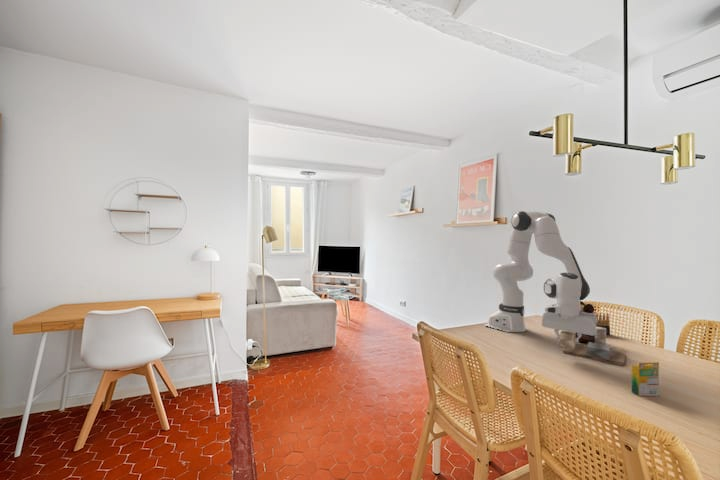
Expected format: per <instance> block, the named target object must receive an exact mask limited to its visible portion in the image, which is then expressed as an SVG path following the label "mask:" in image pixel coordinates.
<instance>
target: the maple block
mask: <svg viewBox="0 0 720 480" xmlns="http://www.w3.org/2000/svg"><path fill="white" fill-rule="evenodd" d="M559 335H560V341H559V346H560V347H562V348H565V347H566V348H571V349H574V347H575V342H574V338H575V332H569V331H563V330H560V333H559Z"/></svg>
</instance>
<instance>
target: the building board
mask: <svg viewBox="0 0 720 480" xmlns="http://www.w3.org/2000/svg"><path fill="white" fill-rule="evenodd" d="M562 353H563V354H567V355H572V356H576V357H582V358H585V359H589V360H590V359H591V360H593V361H600V362H605V363H608V364H609V363H610V364H612V365H613V364H614V365H618V366H623V367H624V366H625V360H626V359H625V358H626V352H625V351H618V350H614V349H611V345H608V344H607V335H606V328H603V327H596V334H595V342H587V344H583V343H575V347H574V349H571V348H566V347H563V350H562Z"/></svg>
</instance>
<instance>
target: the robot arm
mask: <svg viewBox="0 0 720 480" xmlns="http://www.w3.org/2000/svg"><path fill="white" fill-rule="evenodd" d="M510 222H511V224H510V225H511V226H512V229H511V232H510V234H509V235H510V236H509V239H508V245H507V249H506V250H507V254H508V255H509V256H510V259H511V260H510V262H505V263H504V262H503V263H499V264H497V265H495V266H494V268H493V270H492V271H493V272H492V274H493V277H494V279H495V280H497V281H498V283H499V285H500V287H501V290H502V291H501V294H502V302H500V303H499V305H498V310H495V311H494V312H493V313H491V314H490V315H489V317H488V321H485V323H488V324H485V323H484V326H485V325H486V326H488V327H487V328H490V327H491V328H490V329H493V328H494V329H495V330H497V329H499V330H498V331H501V330H502V332H506V333H523V332H526V331H527V328H526V324H525V318H524V315H525V305H524V292H523V290H521V289H520V287H519V285H518V282H524V281H526V280H527V281H528V280H529V279H532V277H533V276H534V269H533V266H531V264H530V262H529V252H530V251H529V250H530V247H531V241H532V236H534V240H535V241H534V242H535V246H536V248H537V250H538V251H539V252H540V253H542V254H544V255H545V256H548V257H552V258H554V259H557V260H559V261H560V262H561V263H562V264H563V265H564V267H565V270H566V272H560V273H558V276H555V277H550V278H548V279H547V280H545V282H544V283H543V293H544V294H545V295H546V296H547V297H548V298H550V299H556V300H557V301H556V304H549V305H546V306H545V307H544V311H545V312H544V313H543V314H542V317H541V326H542V327H543V328H548V329H553V330H554V333H555V335H556V339H557V340H560V333H559V331H562V330H563V331H569V332H575V333H578V334H577V335H578V337H577V338H574V342H575V343H578V344H580V341H579V338H580V337H581V336H582V334H586V335H591V336H594V335H595V334H596V324H597V321H598V320H599V317H598V318H597V316H596V314H595V313H594V312H593V313H594V314H593V313H586V312H581V311H580V309H581V304H580V301H583V300H584V299H586V298H587V297H589V295H590V292H591V287H590V286H589V283H588V281H587V280H586V279H585V277H584V275H583V272H582V271H581V268H580V266H579V264H578V261H577V259H576V257H575V254H574V252H573V250H572V248H570V247H569V246H567V245H566V243H564V241H563V240H562V237H561V233H560V230H559V227H558V225H557V223H556V217H555V216H554V215H553V214H552V213H549V212H541V211H517V212H515V213H514V214H513V216H512V217H511V220H510ZM580 314H581V315H580ZM593 315H594V316H593ZM486 326H485V327H486Z"/></svg>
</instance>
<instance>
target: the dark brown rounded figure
mask: <svg viewBox="0 0 720 480" xmlns="http://www.w3.org/2000/svg"><path fill="white" fill-rule="evenodd" d="M580 304H581V309H580V311H581V312H586V313H594V312H595V306H594V305H593V304H591V303H586V304H585V302H584V301H583V300H580ZM580 315H581V314H580ZM577 334H578V333H575V338H577V337H578V335H577ZM582 342H587V343H588V342H592V343H595V335H594V336H591V335H586V334H582V336H581V337H580V338H579V344H583V343H582Z"/></svg>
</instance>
